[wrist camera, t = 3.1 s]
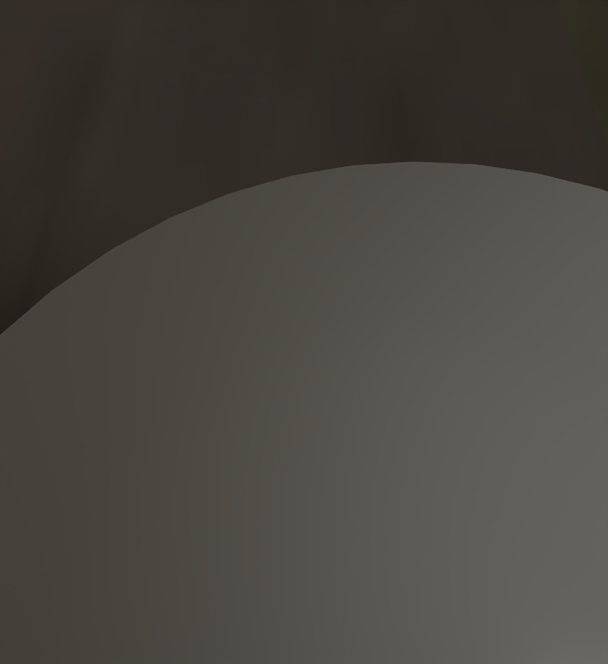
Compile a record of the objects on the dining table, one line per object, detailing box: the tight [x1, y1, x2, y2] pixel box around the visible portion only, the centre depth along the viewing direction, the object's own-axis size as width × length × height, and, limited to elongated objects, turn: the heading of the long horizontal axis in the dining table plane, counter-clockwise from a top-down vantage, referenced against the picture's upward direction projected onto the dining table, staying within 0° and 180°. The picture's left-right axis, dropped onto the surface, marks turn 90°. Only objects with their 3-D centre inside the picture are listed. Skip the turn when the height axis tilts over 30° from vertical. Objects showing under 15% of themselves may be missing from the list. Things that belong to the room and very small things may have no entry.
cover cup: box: [0, 162, 608, 664], centre depth 8 cm, size 7×7×12 cm
